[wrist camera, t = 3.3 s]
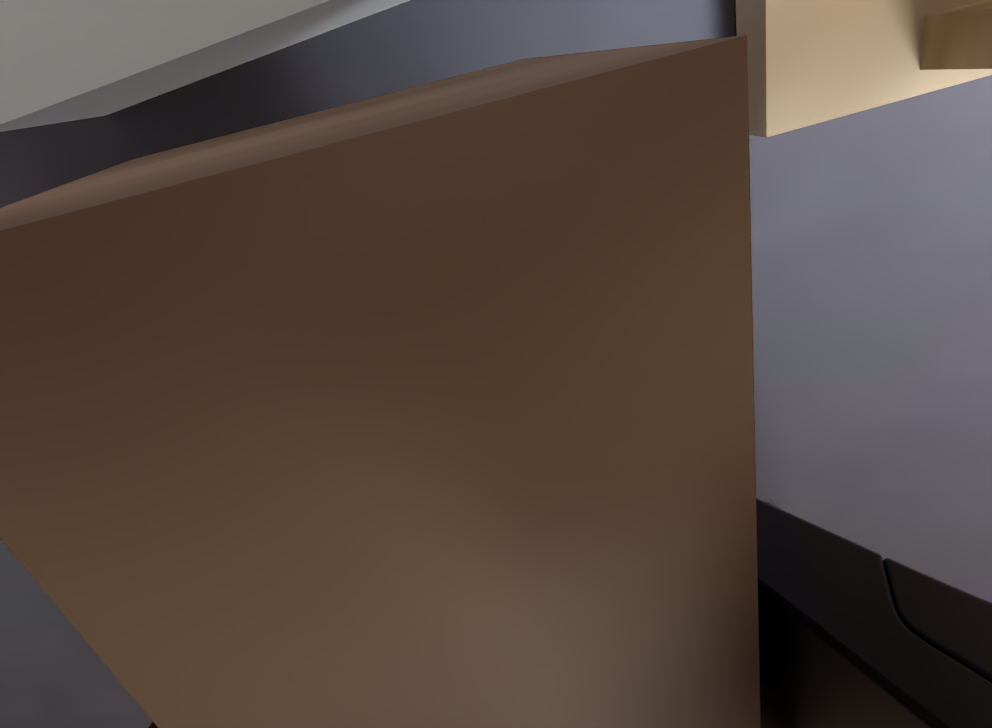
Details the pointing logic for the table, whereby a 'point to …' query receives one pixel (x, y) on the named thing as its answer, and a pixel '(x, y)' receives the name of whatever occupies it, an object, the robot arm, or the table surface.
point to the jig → (855, 55)
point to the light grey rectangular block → (141, 48)
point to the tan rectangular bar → (405, 406)
